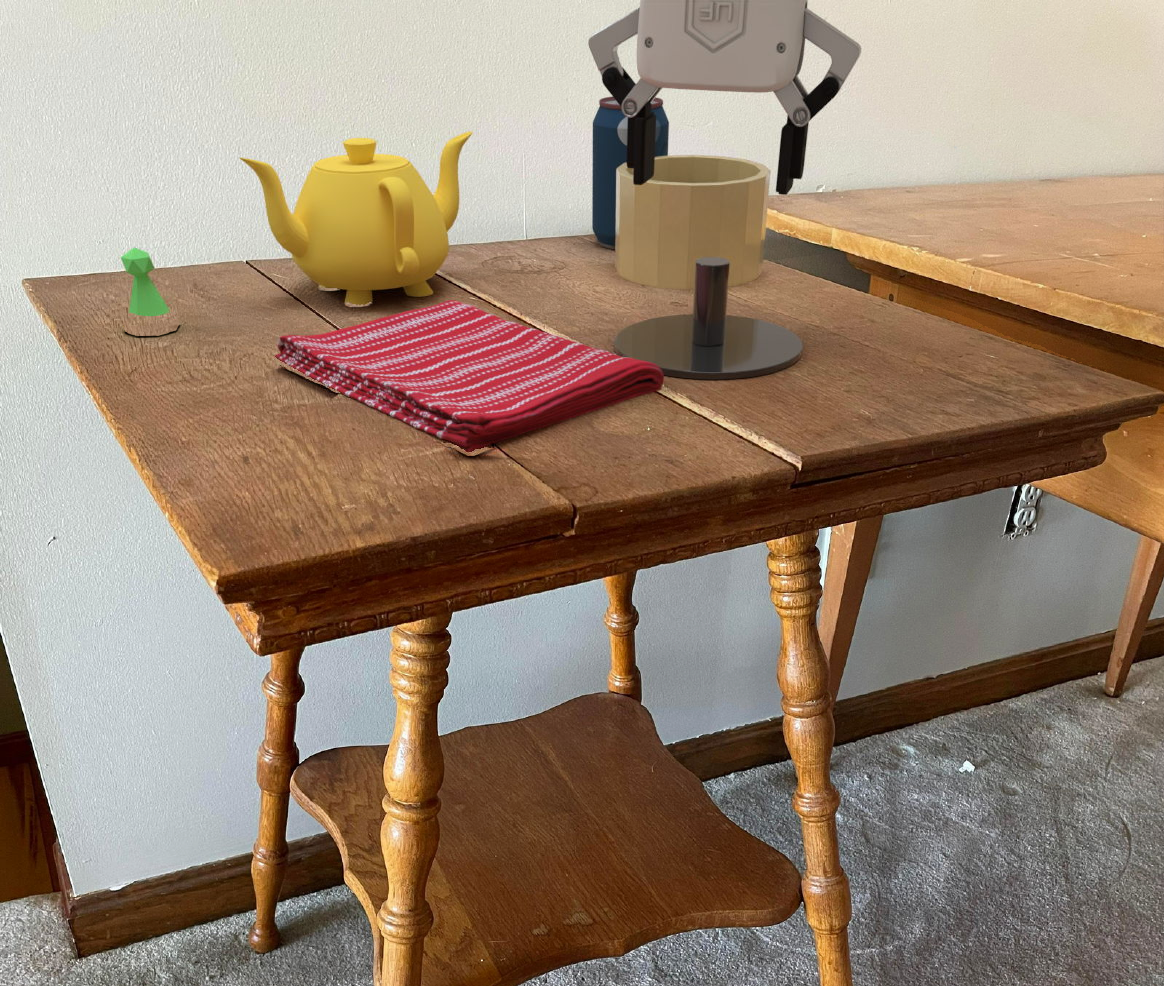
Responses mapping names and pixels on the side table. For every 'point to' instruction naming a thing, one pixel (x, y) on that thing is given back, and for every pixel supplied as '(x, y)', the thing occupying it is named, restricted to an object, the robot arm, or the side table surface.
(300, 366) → the dish towel
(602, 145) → the soda can
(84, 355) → the side table surface
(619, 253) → the pot
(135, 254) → the game piece
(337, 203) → the teapot
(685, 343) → the lid
